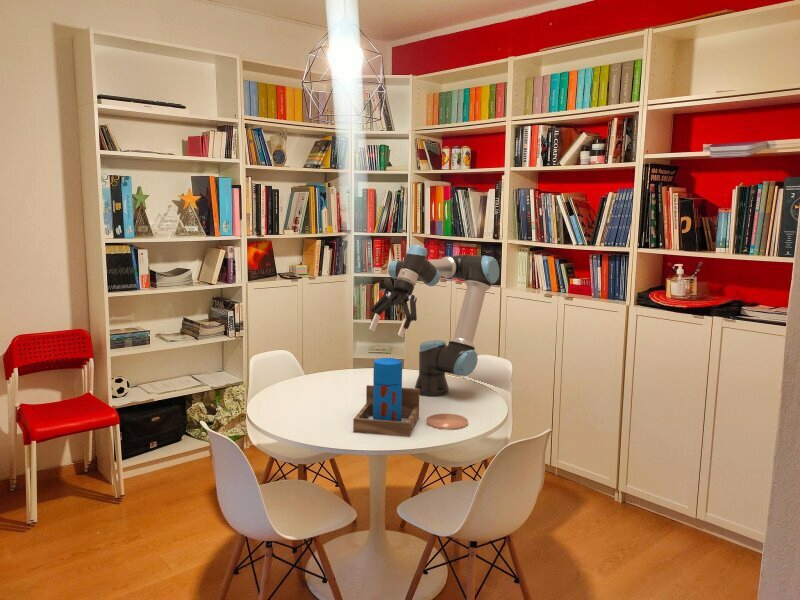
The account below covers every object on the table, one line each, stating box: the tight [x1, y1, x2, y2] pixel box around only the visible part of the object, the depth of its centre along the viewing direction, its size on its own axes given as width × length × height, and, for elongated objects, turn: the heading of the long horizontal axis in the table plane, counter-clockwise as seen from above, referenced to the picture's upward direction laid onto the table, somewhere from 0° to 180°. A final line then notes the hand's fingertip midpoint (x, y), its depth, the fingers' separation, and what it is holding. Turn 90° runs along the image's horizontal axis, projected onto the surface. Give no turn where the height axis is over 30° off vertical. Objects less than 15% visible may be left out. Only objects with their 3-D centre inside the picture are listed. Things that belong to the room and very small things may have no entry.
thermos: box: [372, 357, 403, 422], centre depth 243 cm, size 11×11×25 cm
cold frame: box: [352, 384, 420, 438], centre depth 244 cm, size 21×21×12 cm
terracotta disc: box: [426, 413, 469, 430], centre depth 248 cm, size 16×16×1 cm
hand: (385, 333), depth 240 cm, fingers open, 13 cm apart
